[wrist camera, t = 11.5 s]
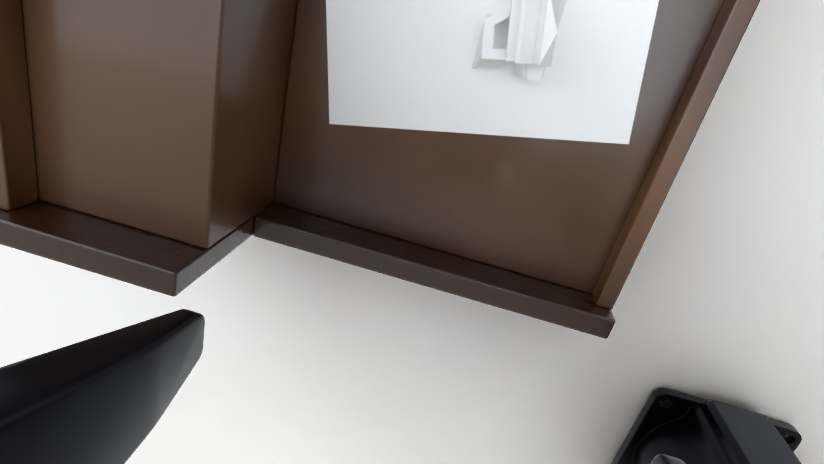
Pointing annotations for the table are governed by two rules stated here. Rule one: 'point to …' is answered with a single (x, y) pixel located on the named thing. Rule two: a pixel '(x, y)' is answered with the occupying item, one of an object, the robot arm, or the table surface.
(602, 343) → the table surface
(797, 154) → the table surface
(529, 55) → the adhesive hook
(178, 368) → the robot arm
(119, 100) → the wooden step tray
